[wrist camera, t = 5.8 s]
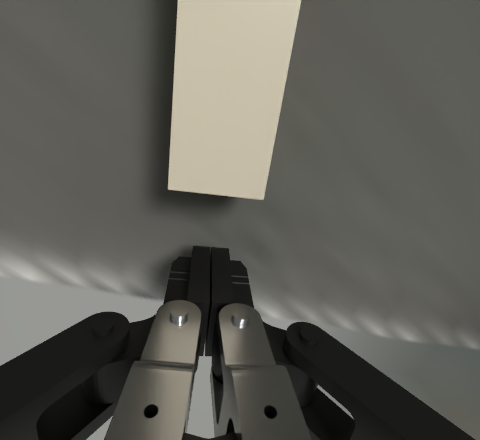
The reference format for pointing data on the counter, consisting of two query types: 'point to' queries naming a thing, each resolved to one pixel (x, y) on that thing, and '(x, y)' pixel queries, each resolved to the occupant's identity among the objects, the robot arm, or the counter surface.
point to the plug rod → (228, 93)
